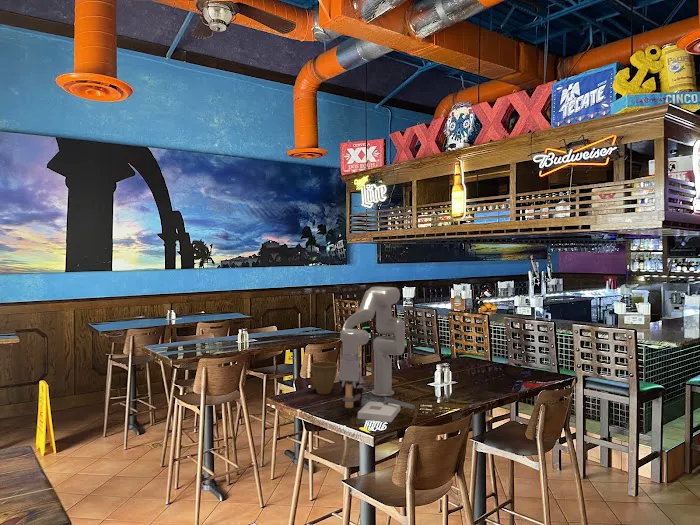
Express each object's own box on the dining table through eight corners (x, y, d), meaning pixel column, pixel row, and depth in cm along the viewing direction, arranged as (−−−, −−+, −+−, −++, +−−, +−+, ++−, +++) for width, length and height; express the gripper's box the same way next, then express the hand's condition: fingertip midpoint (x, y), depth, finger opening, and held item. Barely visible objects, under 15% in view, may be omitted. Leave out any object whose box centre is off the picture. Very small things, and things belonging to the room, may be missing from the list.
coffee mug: (362, 403, 271) (362, 384, 271) (363, 408, 263) (363, 388, 262) (339, 403, 271) (340, 384, 271) (340, 408, 262) (340, 388, 262)
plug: (345, 404, 257) (345, 379, 257) (357, 405, 255) (357, 380, 255) (340, 407, 251) (341, 382, 251) (353, 409, 249) (354, 383, 249)
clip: (382, 403, 260) (382, 397, 260) (385, 402, 262) (385, 396, 262) (411, 412, 246) (412, 406, 246) (415, 411, 248) (415, 405, 248)
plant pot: (318, 397, 281) (318, 367, 281) (306, 391, 294) (306, 362, 294) (342, 394, 289) (342, 365, 289) (329, 388, 302) (329, 360, 301)
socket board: (369, 407, 265) (369, 401, 265) (400, 410, 260) (400, 404, 260) (357, 418, 246) (357, 412, 246) (391, 422, 241) (391, 415, 241)
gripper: (368, 357, 254) (368, 394, 254) (336, 354, 259) (335, 391, 259) (364, 359, 247) (363, 398, 247) (331, 357, 252) (330, 395, 252)
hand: (349, 394), depth 253 cm, fingers closed on plug, 4 cm apart
